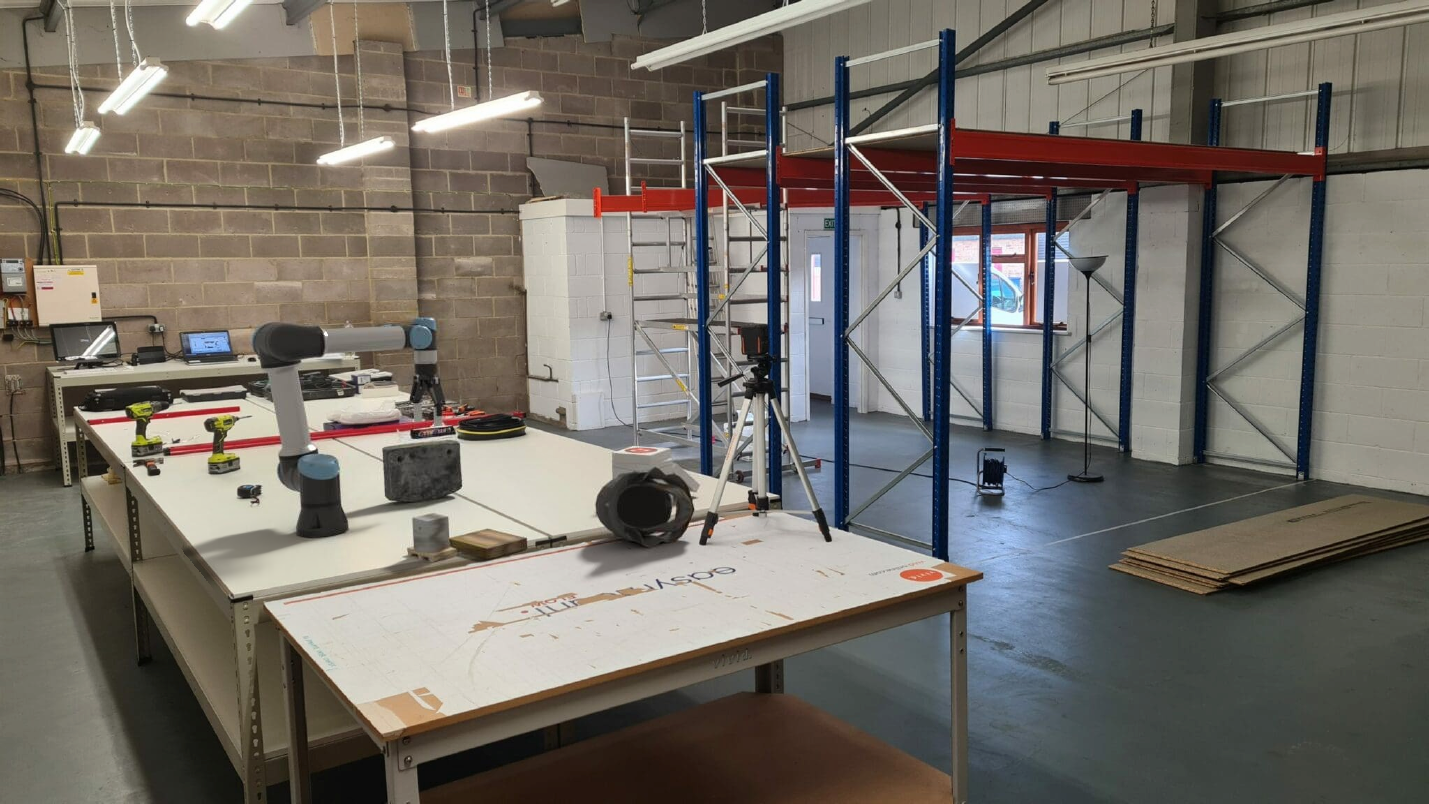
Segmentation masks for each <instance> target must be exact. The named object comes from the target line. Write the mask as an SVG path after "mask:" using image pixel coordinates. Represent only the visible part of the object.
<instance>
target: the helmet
mask: <svg viewBox="0 0 1429 804" xmlns="http://www.w3.org/2000/svg"><path fill="white" fill-rule="evenodd" d="M653 479H658V480H660V479H661V480H663V481H664V482H665V483H667V484H663V483H658V482H656V481H654V480H653ZM669 494H671V495H672V496H673V498H675V507H676V508H675V515H674V519H672V520H670V519H671V517H672V511H673V502H672V499H671V497H670V495H669ZM595 499H596V500H595V514H596V516H597V518H598V520H599V522H600V523H601V524H602V525H603V527H604V528H606V530H608V531H609V532H612V534H613V535H614V537H616V538H617V539H619V540H625V541H628V542H637V543H639V544H641V545H642V546H644V547H646V548H648V549H652V548H653V547H656V546H657V545H658V544H660V543H661V542H664V543H667V544H670V543H674V542H677V541H678V540H679V539H681V538H682V536H683V535H684V534H685V533H686V532H687V529H688V528H689V525H690V523H691V520H692V517H693V515H694V513H695V505H694V503H693V502H694V501H693V499H692V494H691V491H690V490H689V488H688V486H687V484H686V483H685V481H684V480H683V479H682V478H681V477H680V476H677V475H675V474H668V475H665V474H664V473H663V472H662V471H661V470H660V469H659V468H657V467H654V468H652V469H651V470H649V471H647V472H636V471H633V472H624V473H621V474H619V475H618V477H617V478H615V479H613V480H612V479H611V480H609V482H607V483H606V484H605V485H603V486H602V487H601V489H600V490H599V492H598V493H597V496H596V498H595ZM669 520H670V521H669ZM655 533H660V534H659V535H653V534H655Z"/></svg>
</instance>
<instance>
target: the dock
mask: <svg viewBox="0 0 1429 804" xmlns="http://www.w3.org/2000/svg"><path fill="white" fill-rule="evenodd" d="M449 541H450V547H452V548H456V549H457V552H461V553H464V554H467V555H470V556H475V557H478V558H482V559H485V560H490V559H494V558H498V557H501V556H504V555H509V554H513V553H516V552H520V551H523V550H525V549H528V537H524V536H519V535H515V534H512V533H508V532H504V531H503V532H502V531H498V530H495V529H491V528H484V529H480V530H476V531H472V532H469V533H465V534H460V535H456V536H452V537H449Z"/></svg>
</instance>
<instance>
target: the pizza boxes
mask: <svg viewBox="0 0 1429 804" xmlns="http://www.w3.org/2000/svg"><path fill="white" fill-rule="evenodd" d="M671 451H672V448H669V447H654V446H653V447H652V446H640V445H639V446H638V445H632V446H629V447H625V448H623V449H620V450H617V451H614V452H613V451H612V453H611V455H612V456H611V472H612V478H611V480H613V479H615V478H617V477H618V475H619V474H621V473H624V472H633V471H636V472H647V471H649V470H651V469H652V468H654V467H657V468H659V469H660V470H661V471H662V472H663V473H664V474H665V475H668V474H675V475H677V476H680V477H681V478H682V479H683V480H684V481H685V483H686V484H687V486H688V488H689V490H690V493H691V492H692V493H698V490H699V488H700V486H701V484H700V483H699V482H698V481H697V480H696V479H695V478H693V477H692V476H691V475H690V474H689V473H688V472H687V471H686V470H684V468H683V467H681V466H680V465H679V464H678V463H677V462H674V460H673V459H672V458H671V457H672V456H671V455H672V452H671ZM653 480H654V481H656V482H658V483H663V484H667V483H665V482H664V481H663V480H661V479H660V480H658V479H653ZM669 495H670V497H671V499H672V503H673V502H674V496H672V495H671V494H669Z"/></svg>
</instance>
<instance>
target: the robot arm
mask: <svg viewBox="0 0 1429 804" xmlns="http://www.w3.org/2000/svg"><path fill="white" fill-rule="evenodd" d="M437 343H438V342H437V323H436V320H435V318H434V317H414V318H413V320H412V323H402V324H401V323H398V324H396V323H394V324H391V323H389V324H383V325H381V326H370V327H369V326H368V327H364V326H363V327H344V328H343V327H342V328H322V327H321V326H320V325H314V326H313V325H301V324H300V325H299V324H295V323H289V322H288V323H286V322H285V323H284V322H280V321H279V322H278V321H275V322H273V321H272V322H267V323H264V324H261V325H260V326H259V327H258V328H257V329H255V331H254V332H253V334H252V337H251V346H252V347H251V348H252V349H253V352H254V353H255V354H256V355H257V357H259V358H258V359H259V362H260V368H261V370H262V371H264V372H265V373H267V375H268V381H269V388H270V392H271V396H272V397H271V398H272V401H273V407H274V411H275V416H276V422H277V427H278V428H277V429H278V434H279V438H280V443H281V449H280V450H279V451H278V453H277V454H278V460H279V462H278V463H277V468H276V474H277V478H278V479H279V481H280V483H281V484H282V485H283V486H284V487H285V488H287V489H289V490H291V491H294V492H296V493H297V492H298V493H299V500H300V511H299V513H298V518H297V521H296V526H295V533H296V536H299V537H303V538H319V537H320V538H321V537H322V538H323V537H330V536H335V535H339V534H342V533H345V532H347V531H349V520H348V518H347V516H346V513H345V511H344V509H343V506H342V498H341V497H342V495H341V493H342V492H341V491H342V490H341V475H340V473H341V472H340V471H341V467H340V464H339V460H338V458H337V457H336V456H334V455H331V454H324V453H320V452H319V449H318V446H317V445H316V444H314V443H313V442H312V439H311V434H310V429H309V424H308V418H307V413H306V408H305V402H304V397H303V392H302V391H303V390H302V387H301V381H300V377H299V372H298V369H299V367H300V366H301V365H302V360H308V359H317V358H323V357H324V356H325V355H329V354H341V353H342V354H343V353H358V352H359V353H360V352H375V351H376V352H377V351H388V350H389V351H393V350H409V349H410V350H411V349H412V350H413V354H414V355H413V356H414V357H413V358H414V359H413V360H414V362H415V363H414V374H415V375H413V379H412V381H413V383H412V386H411V391H410V395H409V402H412V404H413V422H414V423H422V422H423V407H422V406H423V405H422V403H423V402H422V399H423V396H424V394H425V392H428V393H429V396H430V398H431V401H432V403H433V426H434V427H439V426H443V406H446V398H445V396H444V393H443V388H442V386H441V378H440V377H435V375H437V374H438V363H437V361H438V351H437V349H438V348H437V346H438V345H437Z"/></svg>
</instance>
